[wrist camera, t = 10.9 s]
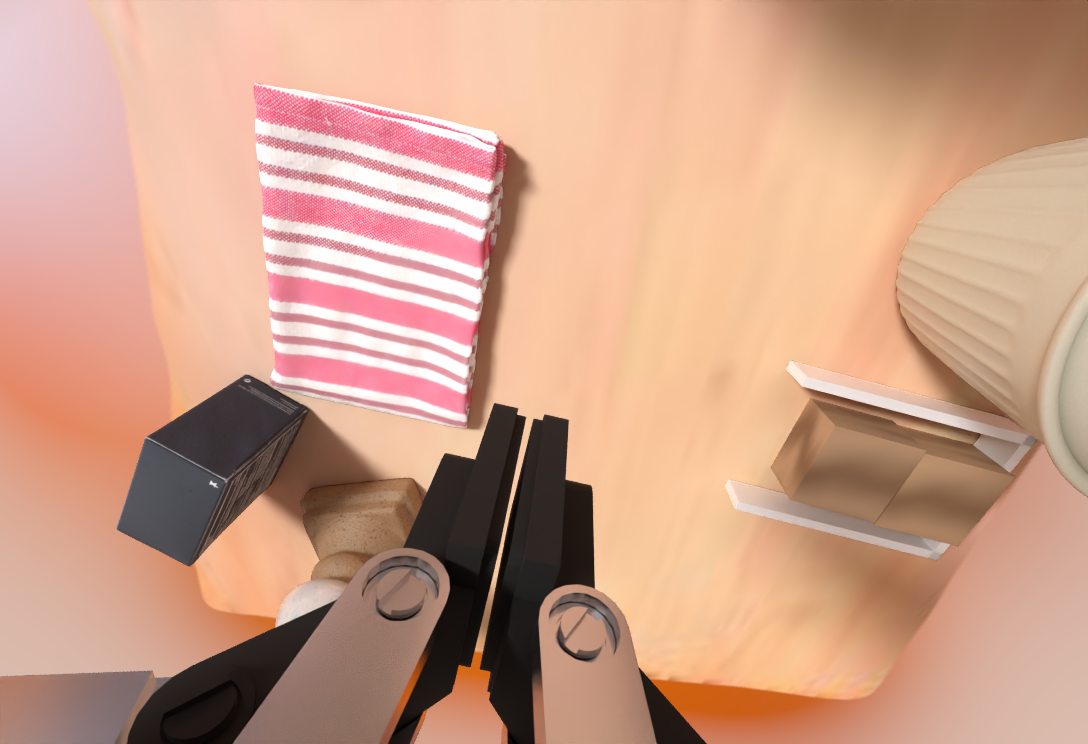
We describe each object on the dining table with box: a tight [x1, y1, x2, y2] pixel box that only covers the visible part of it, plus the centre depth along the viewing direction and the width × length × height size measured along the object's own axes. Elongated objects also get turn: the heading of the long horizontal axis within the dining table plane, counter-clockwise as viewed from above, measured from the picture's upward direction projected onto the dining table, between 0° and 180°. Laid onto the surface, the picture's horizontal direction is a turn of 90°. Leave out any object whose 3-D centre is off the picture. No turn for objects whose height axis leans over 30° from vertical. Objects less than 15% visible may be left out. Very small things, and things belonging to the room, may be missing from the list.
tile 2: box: [872, 425, 1015, 546], centre depth 38 cm, size 7×7×4 cm
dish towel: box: [254, 83, 507, 428], centre depth 36 cm, size 17×23×4 cm
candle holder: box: [275, 478, 423, 628], centre depth 37 cm, size 11×11×24 cm
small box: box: [117, 375, 308, 566], centre depth 39 cm, size 11×6×10 cm, turn 147°
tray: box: [725, 361, 1038, 560], centre depth 38 cm, size 13×18×3 cm
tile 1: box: [771, 398, 927, 522], centre depth 38 cm, size 7×7×4 cm
